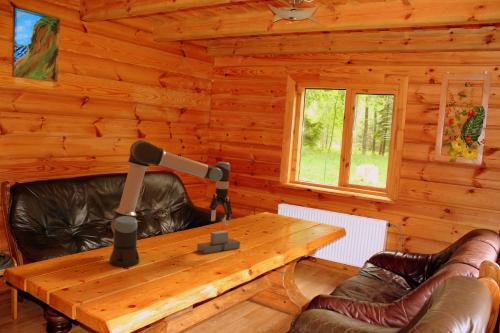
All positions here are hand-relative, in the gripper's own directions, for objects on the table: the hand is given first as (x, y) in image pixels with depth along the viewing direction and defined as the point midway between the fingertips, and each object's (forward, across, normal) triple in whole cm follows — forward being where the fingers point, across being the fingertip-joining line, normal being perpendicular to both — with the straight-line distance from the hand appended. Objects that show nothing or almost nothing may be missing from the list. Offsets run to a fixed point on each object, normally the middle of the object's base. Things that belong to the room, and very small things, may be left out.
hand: (219, 223), depth 260 cm
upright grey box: (+16, 0, -1) cm, 16 cm away
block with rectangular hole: (+16, 0, -1) cm, 16 cm away
